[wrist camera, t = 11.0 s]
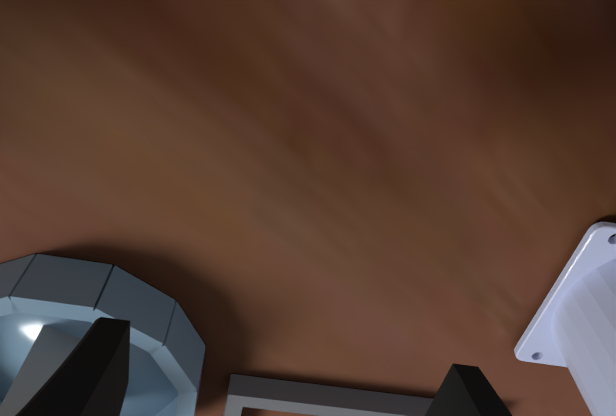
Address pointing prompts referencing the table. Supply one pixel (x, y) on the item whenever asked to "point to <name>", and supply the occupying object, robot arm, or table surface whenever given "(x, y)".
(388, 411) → the tray
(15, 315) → the bowl
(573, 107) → the table surface
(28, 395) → the stone block
